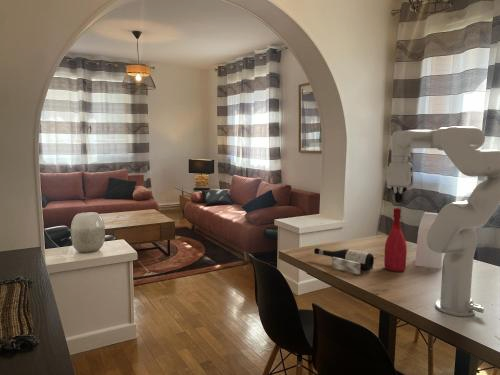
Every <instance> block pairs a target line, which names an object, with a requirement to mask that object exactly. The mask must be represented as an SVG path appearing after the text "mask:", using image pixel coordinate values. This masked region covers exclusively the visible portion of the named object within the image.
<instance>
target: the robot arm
mask: <svg viewBox="0 0 500 375" xmlns="http://www.w3.org/2000/svg"><path fill="white" fill-rule="evenodd" d="M485 139H486V136H485V133H484V132H483V131H482V129H480V128H478V127H475V126H464V125H463V126H456V125H453V126H449V127H439V128H438V129H433V130H432V129H407V130H395V131H393V133H392V136H391V155H390V156H391V157H390V158H391V162H390V163H389V165H388V168H387V174H386V176H387V177H386V184H387V185H386V187H387V188H388V189H391V190H392V191H393V193H394V200H395V203H398V204H399V203H403V201H404V193H405V192H406V191H408V190H412V189H413V185H414V167H413V166H414V165H413V163H411V162H413V161H414V160H415V159H414V157H412V156H411V149H437V150H439V151H442V152H444V154H445V155H446V156H447V157H448V159H449V160H450V161H451V162H452V164H453V165H454V166H455V167H456V169H457V170H458V171H459V172H460V173H461V174H463V175H464V176H466V177H485V178H484V179H483V180H482V181H481V182H479V183H478V184H477V185H476V186H475V188H473V190H472V192H471V194H470V195H469V197H468V198H467V199H465V200H463V201H454V202H449V203H447V204H445V205H444V206H443V207H442V208H441V209H440V211H439V212H438V215H437V217H436V219H435V220H434V222H433V224H432V226H431V227H430V229H429V231H428V234H427V244H428V246H429V248H430V249H431V250H432V251H434V252H437V253H442V254H444V255H443V258H442V269H441V281H440V282H441V285H440V299H437V301H436V302H435V304H434V305H435V308H436V309H437V310H439V311H440V312H442V313H444V314H447V315H450V316H454V317H463V316H464V317H465V318H466V317H471V316H473V315H475V312H477V313H481V314H483V313H484V311H485V308H484V307H482V305H481V304H477V303H475V302H474V301H473V298H471V297H472V296H471V294H472V283H473V282H472V281H473V280H472V279H473V269H474V257H475V253H476V250H477V247H478V242H479V241H478V240H479V238H478V233H477V232H476V230H475V229H479V228H483V227H484V226H485V225H486V224H487V222H488V221H489V219H491V216H493V214H494V213H495V212H496V210H497V208H499V206H500V150H499V149H480V148H481V147H482V146H483V145H484V143H485V141H486V140H485ZM464 317H463V318H464Z"/></svg>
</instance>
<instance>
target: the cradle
mask: <svg viewBox="0 0 500 375" xmlns="http://www.w3.org/2000/svg"><path fill="white" fill-rule="evenodd" d="M360 264H361V263H358V262H354V261H350V260H346V259H341V258H337V257H331V270H333V271H336V272H340V273H344V274H347V275H352V276H355V277H360V276H363V274H366V273H368V272H370V271H372V270H373V269H374V266H373V267H372V268H371V269H370V270H364V269H360Z"/></svg>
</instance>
